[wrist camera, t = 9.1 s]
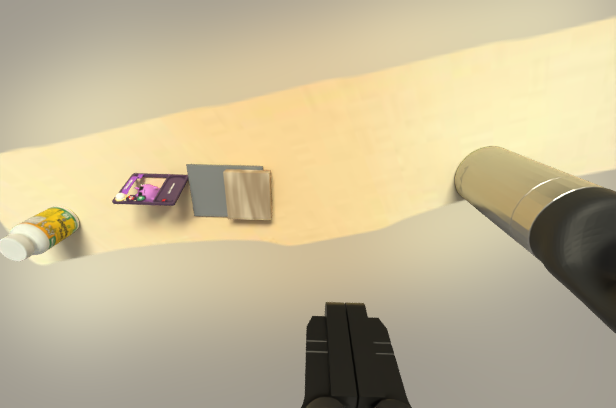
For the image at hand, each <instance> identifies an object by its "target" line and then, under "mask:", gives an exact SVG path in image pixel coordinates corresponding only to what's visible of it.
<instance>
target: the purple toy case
mask: <svg viewBox="0 0 616 408" xmlns="http://www.w3.org/2000/svg"><path fill="white" fill-rule="evenodd" d="M142 177H165V178H166V180H165V182H164V183H163V185H162V187H161V188H158V187H156V186H153V185H150V184H144V185H141V184H140V185H141V187H140V188H138V187H136V188H135V189H137V190H138V194H136V195H130V196H128V197H127V193H128V191H129V189H130V188H131V186H132V185H133V183H134V182H135V180H136V179H137V178H142ZM188 179H189V178H188V175H175V174H141V173H134V174H132V176H131V177H130V178H129V180H128V181H127V182H126V183H125V185H124V186H123V187H122V189H121V190H120V191H119V193H118V194H117V195H116V197H115V198H114V199H113V201H112V202H113V203H114V204H137V205H169V206H173V205H175V203H176V202H177V200H178V198H179V196H180V194H181V192H182V190H183V188H184V186H185V184H186V182H187V181H188ZM136 196H137V197H136ZM125 199H126V201H124V200H125ZM134 200H136V201H134Z"/></svg>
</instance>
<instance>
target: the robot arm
mask: <svg viewBox="0 0 616 408" xmlns="http://www.w3.org/2000/svg"><path fill="white" fill-rule="evenodd" d="M455 186H456V189H457V191H458V193H459V194H460V195H461V196H462V197H463V198H464V199H466V200H467V201H468V202H469V203H470V204H472V205H473V206H474V207H475V208H476V209H478V210H479V211H480V212H481V213H482V214H484V215H485V216H486V217H487V218H488V219H490V220H491V221H492V222H493V223H494V224H496V225H497V226H498V227H499V228H501V229H502V230H503V231H504V232H505V233H507V234H508V235H509V236H510V237H512V238H513V239H514V240H515V241H516V242H518V243H519V244H520V245H522V246H523V247H524V248H525V249H526V250H528V251H529V252H530V253H531V254H533V255H534V256H535V257H536V258H538V259H539V260H540V261H541V262H542V263H543V264H544V266H545V267H546V269H547V270H548V271H549V272H550V273H551V274H552V275H553V276H554V277H555V278H556V279H557V280H558V281H560V282H561V283H562V284H563V285H564V286H565V287H566V288H568V289H569V290H570V291H571V292H572V293H573V294H574V295H575V296H576V297H577V298H578V299H580V300H581V301H582V302H583V303H584V304H585V305H586V306H587V307H588V308H589V309H590V310H591V311H592V312H593V313H594V314H595V315H596V316H597V317H598V318H600V319H601V320H602V321H603V322H604V323H605V324H606V325H607V326H608V327H609V328H610V329H611V330H612V331H613V332H615V333H616V192H615V191H613V190H610V189H606V188H604V187H602V186H599V185H596V184H594V183H591V182H589V181H586V180H584V179H581V178H578V177H575V176H573V175H570V174H568V173H565V172H563V171H560V170H557V169H555V168H552V167H550V166H547V165H545V164H542V163H540V162H537V161H534V160H532V159H529V158H527V157H524V156H522V155H519V154H517V153H514V152H512V151H509V150H506V149H504V148H500V147H496V146H489V147H484V148H481V149H478V150H476V151H474V152H472V153H471V154H470V155H468V156H467V157H466V158H465V159H464V160H463V161H462V163H461V164H460V166H459V167H458V169H457V172H456V175H455ZM301 408H412V407H411V406H410V404H409V402H408V399H407V396H406V393H405V390H404V386H403V383H402V379H401V376H400V373H399V369H398V365H397V362H396V358H395V356H394V351H393V348H392V345H391V341H390V338H389V334H388V331H387V328H386V327H385V326H384V325H383V323H382V322H381V321H380V319H379V318H368V316H367V312H366V308H365V305H364V303H345V304H344V303H336V302H326V304H325V316H312V318H311V320H310V321H309V323H308V326H307V334H306V370H305V397H304V402H303V405H302V407H301Z"/></svg>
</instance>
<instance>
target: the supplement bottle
mask: <svg viewBox="0 0 616 408" xmlns="http://www.w3.org/2000/svg"><path fill="white" fill-rule="evenodd" d="M78 227H79V220H78V218H77V216H76V215H75V214H74V213H73V212H72V211H71V210H70V209H68V208H66V207H62V206H54V207H51V208H49V209H47V210H45V211H43V212H41V213H39V214H37V215H35V216H33V217H31V218H29V219H27V220H26V221H24V222H22V223H20V224H18V225H16V226H14V227H13V228H12V229H11V231H10V234H9V235H7V236H6V237H4V238H2V239H1V240H0V252H1V253H2V254H3V255H4V256H5V257H7V258H8V259H10V260H13V261H23V260H25V259H27V258H28V257H30V256H31V255H38V254H42V253H44V252H45V251H47V250H49V249H50V248H52V247H53V246H55V245H56V244H58V243H59V242H60V241H62V240H63V239H65V238H66V237H68V236H69V235H71V234H72V233H74V232H75V231H76V230H77V229H78Z"/></svg>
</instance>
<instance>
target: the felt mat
mask: <svg viewBox="0 0 616 408" xmlns="http://www.w3.org/2000/svg"><path fill="white" fill-rule="evenodd" d="M186 166H187V172H188V178H189V184H190V191H191V197H192V203H193V210H194V216H218V217H228V213H227V204H226V194H225V185H224V175H223V172H224V171H225V170H226V169H241V170H263V166H238V165H199V164H187V165H186Z"/></svg>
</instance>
